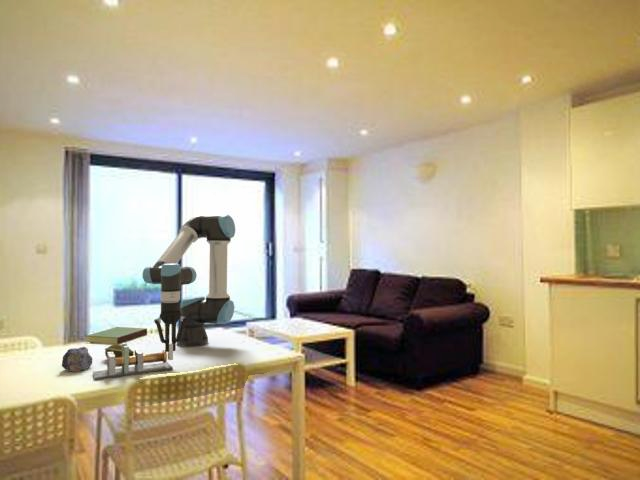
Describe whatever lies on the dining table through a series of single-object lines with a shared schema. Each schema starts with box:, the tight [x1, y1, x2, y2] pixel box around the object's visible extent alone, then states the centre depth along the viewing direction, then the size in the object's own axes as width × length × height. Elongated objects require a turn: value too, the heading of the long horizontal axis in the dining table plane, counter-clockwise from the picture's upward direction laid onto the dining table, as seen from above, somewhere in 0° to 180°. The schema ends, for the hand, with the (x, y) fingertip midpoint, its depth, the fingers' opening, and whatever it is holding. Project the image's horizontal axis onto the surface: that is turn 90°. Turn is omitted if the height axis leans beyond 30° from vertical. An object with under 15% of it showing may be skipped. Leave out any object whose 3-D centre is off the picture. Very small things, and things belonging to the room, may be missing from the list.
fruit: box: [104, 344, 135, 358], centre depth 197 cm, size 11×12×7 cm
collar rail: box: [92, 342, 173, 381], centre depth 180 cm, size 9×28×11 cm, turn 120°
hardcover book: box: [85, 326, 148, 345], centre depth 242 cm, size 25×19×4 cm
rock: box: [61, 346, 93, 373], centre depth 183 cm, size 11×10×10 cm
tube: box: [115, 349, 168, 368], centre depth 180 cm, size 5×21×5 cm, turn 120°
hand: (170, 359), depth 187 cm, fingers closed
